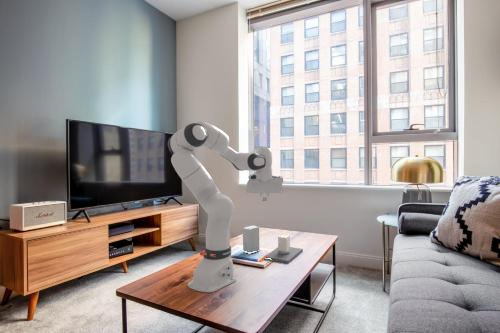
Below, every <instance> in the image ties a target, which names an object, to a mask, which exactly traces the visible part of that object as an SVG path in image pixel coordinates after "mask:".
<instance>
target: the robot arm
mask: <svg viewBox="0 0 500 333" xmlns="http://www.w3.org/2000/svg"><path fill="white" fill-rule="evenodd" d="M229 145H230V137H229V135H228V134H227V133H225V132H224V131H223V130H222V129H220V128H219V127H217V126H215V125H214V124H211V123H208V122H206V121H204V120H200V121H197V122H193V123H189V124H187V125H186V126H184V127H182V128H180V129H178V130H177V131H176V132H174V133H173V134H172V135H171V136H170V137H169V138H168V140H167V147H168V150H169V152H170V154H171V158H170V161H171V164H172V166H173V168H174V171H175V172H176V173H177V175H178V177H179V178H180V179H181V181H182V182H183V183H184V184H185V186H186V187H187V188H188V189H189V190H190V192H191V194H192V195H193V196H194V198H195V199H196V200H197V202H198V203H199V205H200V206H201V208H202V209H203V210H204V212H205V213H206V214H207V224H206V229H205V247H204V250H200V251H199V256H202V259H201V260H200V262H199V263H198V264H197V266H196V267H195V269H194V271H193V275H192V277H193V278H191V280H190V281H189V282H187V287H188V288H189V289H192V290H193V291H198V292H201V293H214V292H216V291H218V290H221V289H223V288H225V287H227V286H228V285H231V284H233V283H236V281H237V278H236V277H235V272H234V271H235V270H234V269H235V268H234V263H233V259H232V257H231V255H232V246H231V224H232V219H233V215H234V212H235V204H234V202H233V201H232V199H231V198H230V197H229V196H227V195H225V194H223V193H222V192H221V191H220V189H219V188H218V187H217V186H218V185H216V183H215V180H214V179H213V177H212V176H211V175H210V173H209V171H208V170H207V169H206V168H205V167H204V165H203V164H202V163H201V161H200V160H199V159H198V158H197V156H196V154H195V151H196V150H197V149H198V148H200V147H202V146H204V148H206V149H208V150H210V151H212V152H214V153H217V154H218V155H219V156H221V157H223V158H224V159H226V160H227V161H229V162H230V163H231V164H232V165H233V167H234V169H236V170H238V171H241V172H243V171H251V172H252V171H256V172H255V173H252V174H249V175H248V181H247V182H246V190H245V191H246V193H248V194H249V193H250V194H256V193H257V194H259V195H260V197H261V201H262V202H267V201H268V197H269V196H270V194H274V193H275V194H277V193H281V194H282V192H284V191H283V190H284V188H283V187H284V186H283V183H284V177H283V176H281V175H273V167H272V164H273V153H272V149H271V148H270V147H267V146H262V145H261V146H258V147H257V148H256V149H254V151H253V150H252V151H251V152H238V151H236V150H235V149H233V148H232V147H230V146H229ZM265 193H266V196H265V197H263V194H265Z"/></svg>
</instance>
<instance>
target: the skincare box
mask: <svg viewBox="0 0 500 333" xmlns="http://www.w3.org/2000/svg"><path fill="white" fill-rule="evenodd" d="M243 250H244V251H247V252H253V251H258V250H259V251H260V227H259V226H256V225H250V226H245V227H242V251H243Z"/></svg>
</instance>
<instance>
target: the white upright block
mask: <svg viewBox="0 0 500 333" xmlns="http://www.w3.org/2000/svg"><path fill="white" fill-rule="evenodd" d="M277 244H278V245H277V248H278V251H283V252H287V251H289V250H290V247H291V236H290V235H287V234H281V235H279V236H277Z"/></svg>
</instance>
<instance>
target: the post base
mask: <svg viewBox="0 0 500 333" xmlns="http://www.w3.org/2000/svg"><path fill="white" fill-rule="evenodd" d="M302 252H304V250H303V248H299V247H292V246H290V250H289V251H287V252H283V251H278V247H276V248H275V249H273V250H271V251H270V252H269V253H267V254H266V255H264V257H266V258H271V259H272V260H273V261H272V262H277V263H282V264H290V263H291V262H292V261H294V260H295V259H296V258H297V257H298V256H299V255H300V254H301V253H302ZM264 257H263V258H264Z"/></svg>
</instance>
